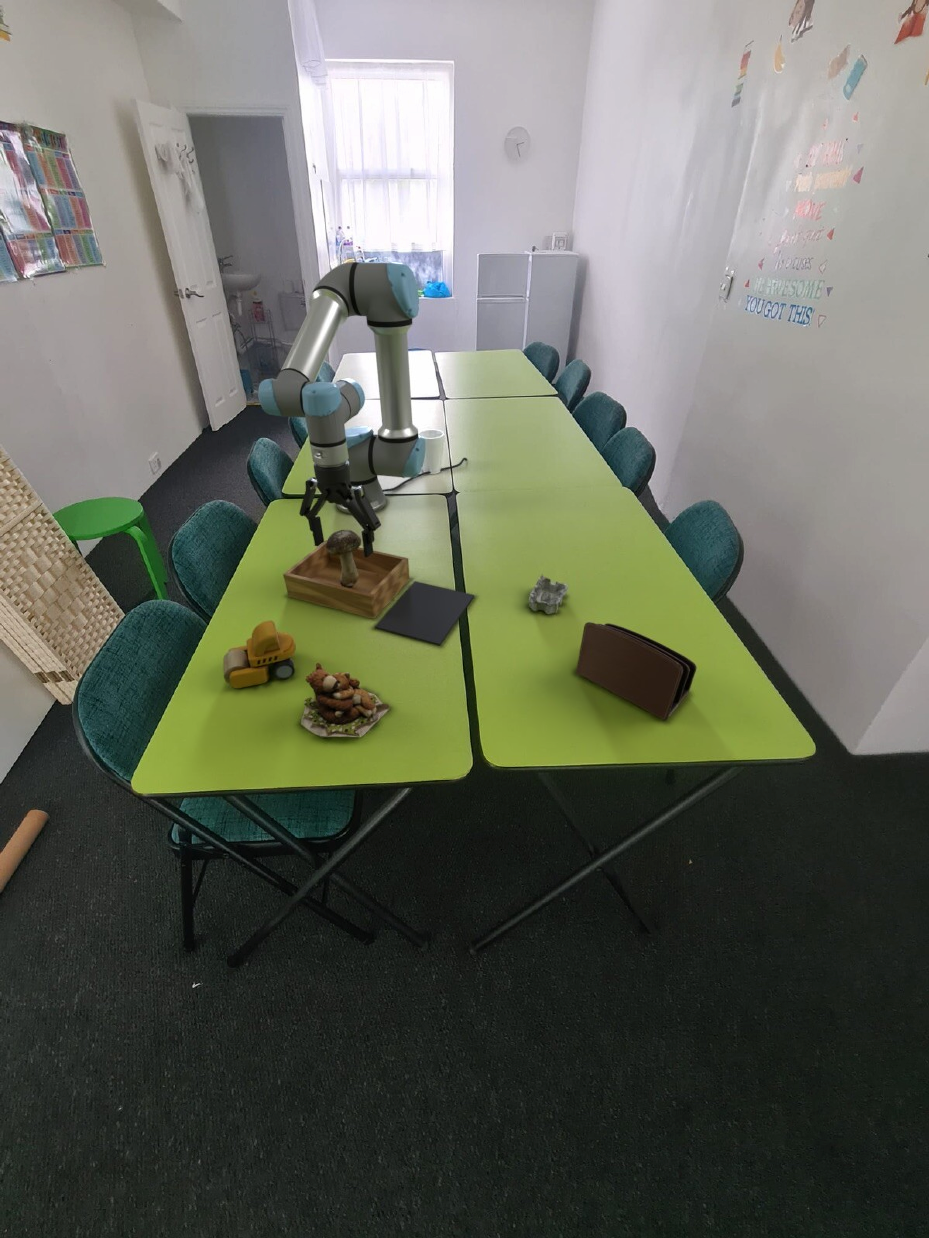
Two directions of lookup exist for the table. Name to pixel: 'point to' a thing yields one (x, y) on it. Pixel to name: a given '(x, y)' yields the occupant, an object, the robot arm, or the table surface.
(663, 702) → the letter holder
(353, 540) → the mushroom
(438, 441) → the foam cup
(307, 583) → the crate
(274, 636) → the toy roller
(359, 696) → the bear figurine
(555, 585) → the egg carton
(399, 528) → the table surface
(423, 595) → the mat
